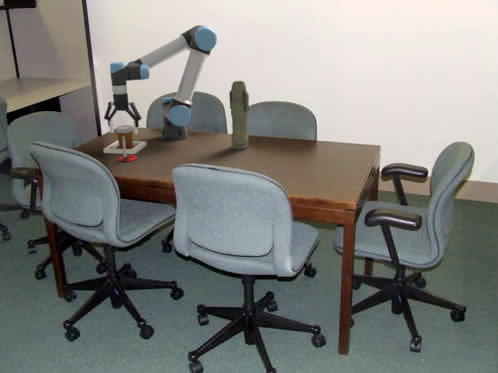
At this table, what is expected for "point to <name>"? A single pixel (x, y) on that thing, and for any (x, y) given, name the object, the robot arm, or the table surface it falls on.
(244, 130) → the olive green statue
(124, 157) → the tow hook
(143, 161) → the table surface
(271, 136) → the table surface
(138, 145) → the holder frame
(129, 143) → the disposable coffee cup
